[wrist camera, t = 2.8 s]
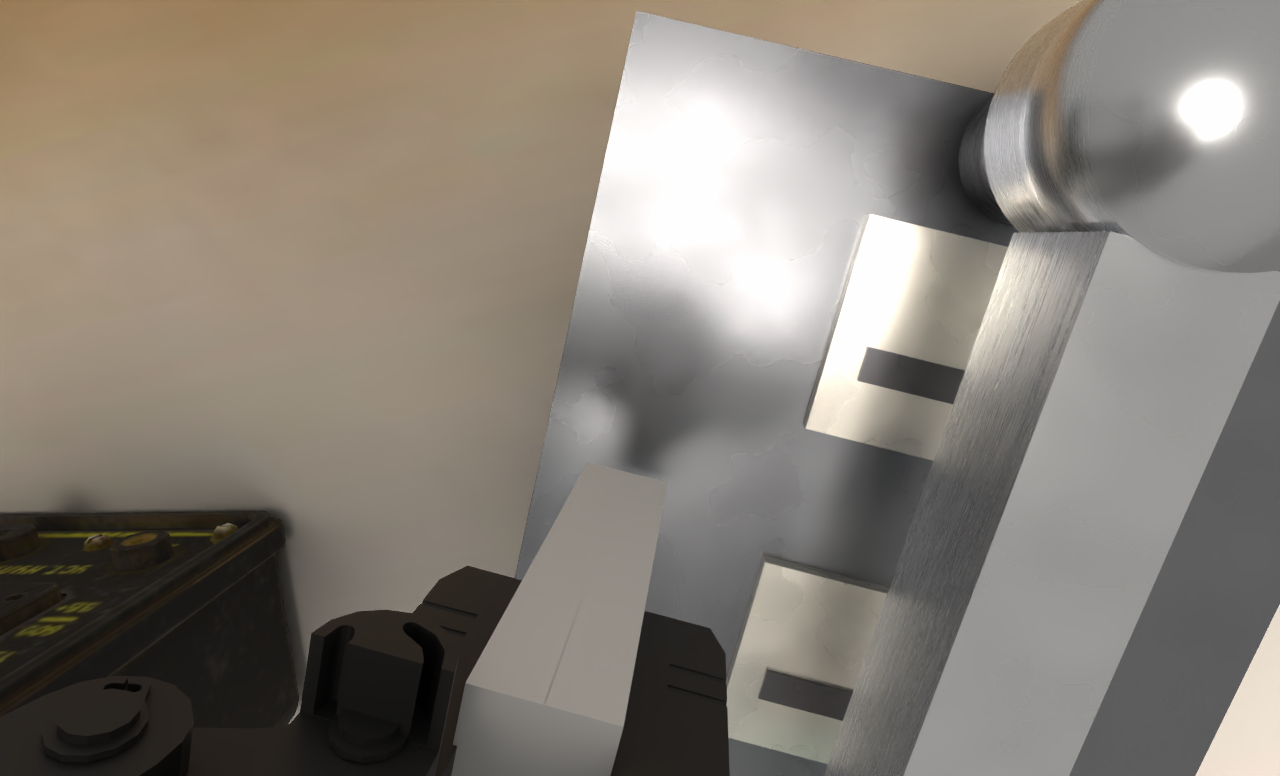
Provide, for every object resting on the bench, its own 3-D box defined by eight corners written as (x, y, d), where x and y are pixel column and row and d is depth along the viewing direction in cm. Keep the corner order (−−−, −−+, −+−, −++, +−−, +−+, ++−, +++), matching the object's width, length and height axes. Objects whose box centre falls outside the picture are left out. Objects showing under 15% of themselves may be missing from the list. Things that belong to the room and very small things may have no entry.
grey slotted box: (508, 677, 22) (440, 831, 17) (651, 26, 18) (626, -75, 12) (1068, 826, 22) (1202, 1042, 16) (1356, 190, 17) (1684, 167, 12)
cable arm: (716, 934, 16) (720, 1125, 13) (1033, -35, 12) (1177, -151, 8) (903, 986, 16) (959, 1195, 13) (1300, 25, 12) (1562, -68, 8)
